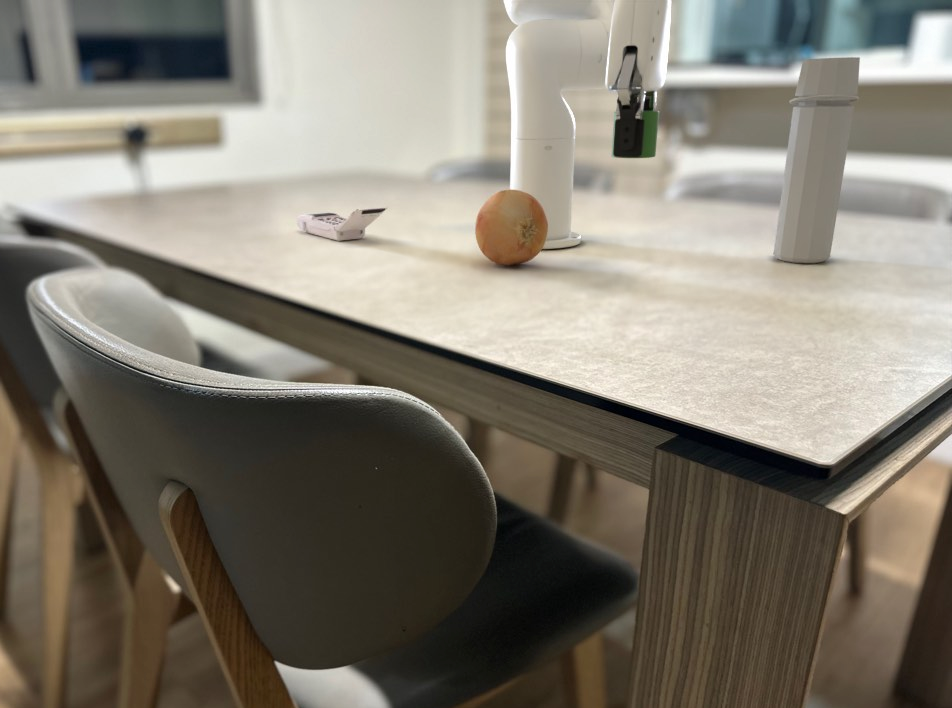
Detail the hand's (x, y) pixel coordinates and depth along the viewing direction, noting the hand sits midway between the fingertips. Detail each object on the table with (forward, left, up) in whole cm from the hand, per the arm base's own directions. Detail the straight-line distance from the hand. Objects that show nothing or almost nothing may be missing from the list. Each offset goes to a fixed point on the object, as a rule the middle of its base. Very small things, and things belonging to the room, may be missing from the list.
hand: (633, 152), depth 95 cm
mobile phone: (-52, +17, -15) cm, 57 cm away
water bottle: (+19, +22, -15) cm, 32 cm away
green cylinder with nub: (0, 0, 0) cm, 0 cm away
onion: (-16, +4, -15) cm, 23 cm away
